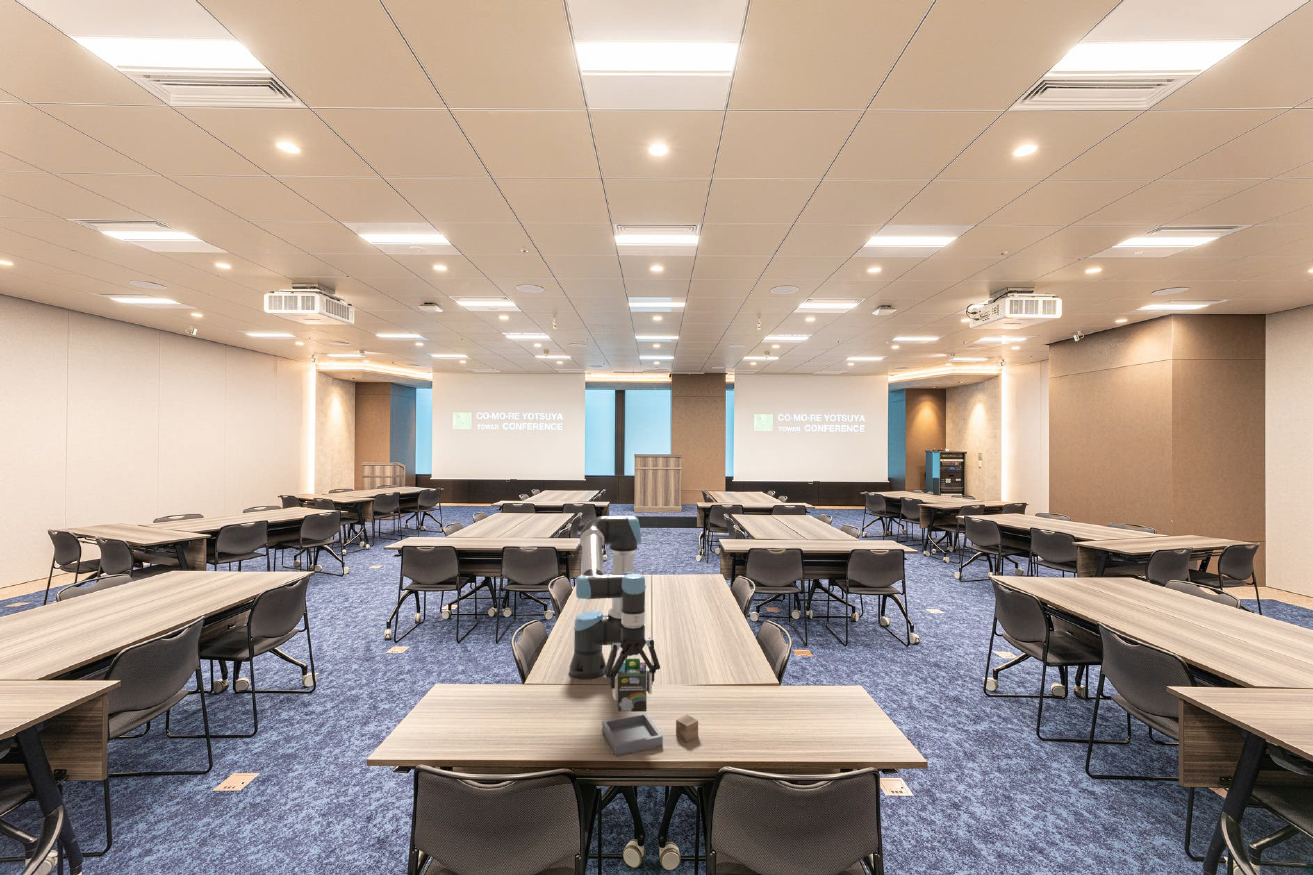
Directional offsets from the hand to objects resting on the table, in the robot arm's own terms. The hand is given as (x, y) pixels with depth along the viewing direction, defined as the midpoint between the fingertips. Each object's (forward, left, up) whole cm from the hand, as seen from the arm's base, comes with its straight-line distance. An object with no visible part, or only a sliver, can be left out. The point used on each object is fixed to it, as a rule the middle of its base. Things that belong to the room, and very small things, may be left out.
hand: (632, 695), depth 156 cm
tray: (0, 0, -13) cm, 13 cm away
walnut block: (+5, +17, -13) cm, 22 cm away
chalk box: (0, 0, -3) cm, 3 cm away
